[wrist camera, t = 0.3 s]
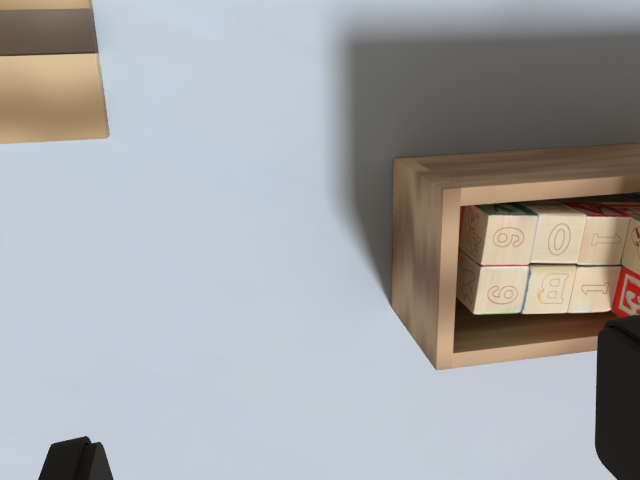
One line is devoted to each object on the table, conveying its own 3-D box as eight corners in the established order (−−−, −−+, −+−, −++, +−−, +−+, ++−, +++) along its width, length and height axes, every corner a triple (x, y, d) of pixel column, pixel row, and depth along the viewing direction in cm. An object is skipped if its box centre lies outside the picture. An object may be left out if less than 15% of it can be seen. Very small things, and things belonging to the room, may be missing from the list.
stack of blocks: (417, 260, 44) (494, 339, 33) (428, 175, 42) (514, 226, 31) (675, 262, 48) (823, 332, 37) (695, 184, 46) (859, 233, 35)
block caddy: (393, 158, 41) (443, 189, 33) (730, 137, 46) (851, 159, 37) (391, 307, 45) (436, 370, 36) (704, 274, 49) (809, 323, 41)
